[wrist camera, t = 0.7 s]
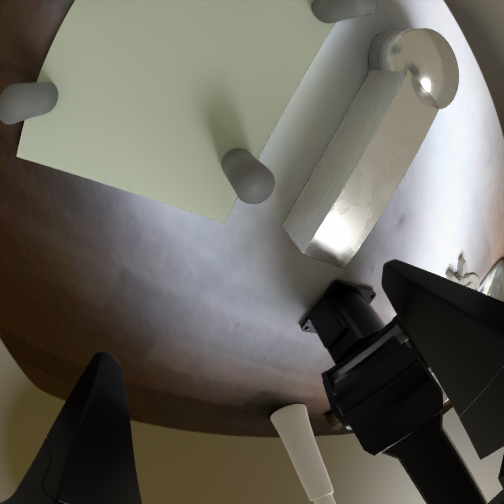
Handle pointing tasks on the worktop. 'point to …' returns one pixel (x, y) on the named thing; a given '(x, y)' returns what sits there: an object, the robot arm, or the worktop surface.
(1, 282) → the worktop surface
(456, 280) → the pliers
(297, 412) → the cosmetic bottle
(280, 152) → the worktop surface
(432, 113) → the round-ended glossy bar
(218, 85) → the peg board
